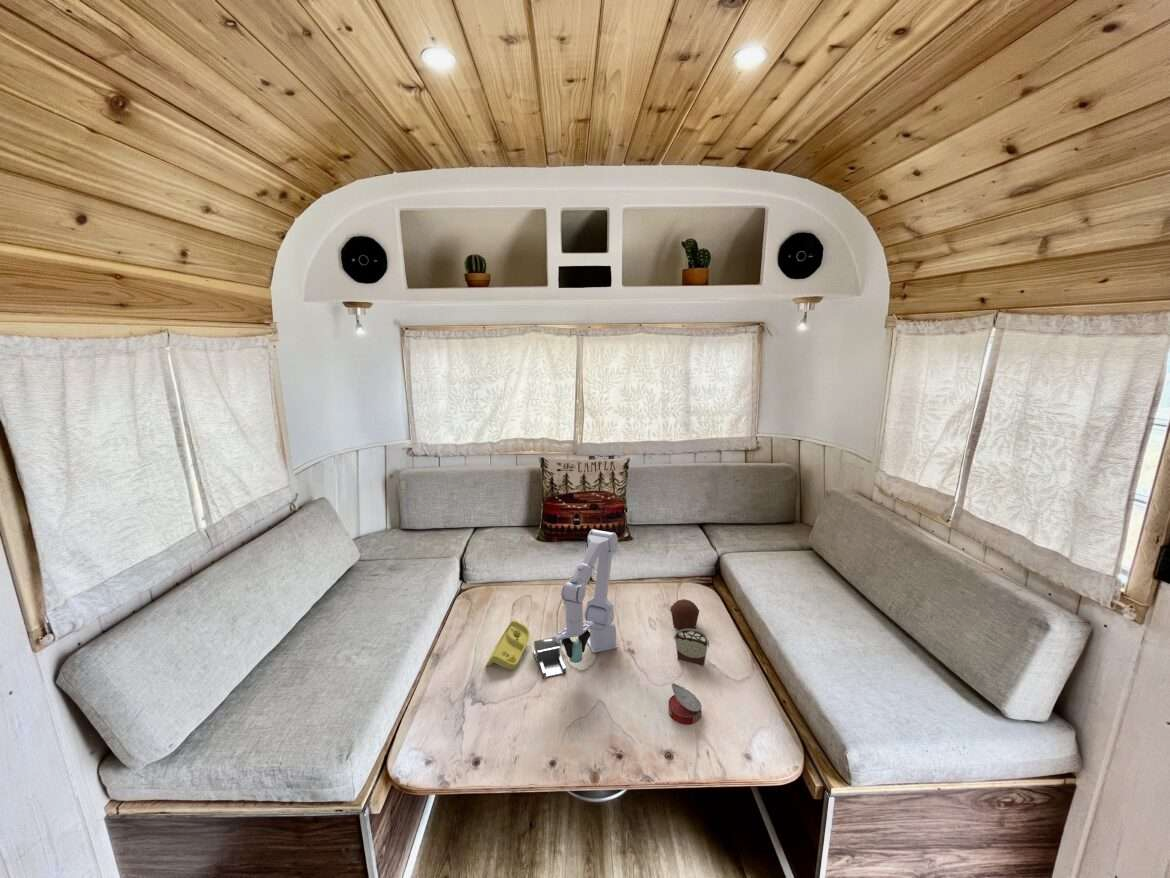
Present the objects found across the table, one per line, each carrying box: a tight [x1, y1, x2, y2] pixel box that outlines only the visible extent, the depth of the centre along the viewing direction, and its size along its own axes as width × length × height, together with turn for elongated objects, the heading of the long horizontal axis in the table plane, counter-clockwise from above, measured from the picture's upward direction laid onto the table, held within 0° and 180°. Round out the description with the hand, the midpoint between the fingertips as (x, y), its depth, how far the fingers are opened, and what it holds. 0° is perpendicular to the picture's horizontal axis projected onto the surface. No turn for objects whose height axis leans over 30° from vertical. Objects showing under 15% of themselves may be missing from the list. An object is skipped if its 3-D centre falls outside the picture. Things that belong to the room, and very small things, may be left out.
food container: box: [673, 628, 710, 667], centre depth 173 cm, size 12×6×10 cm, turn 65°
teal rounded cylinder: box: [568, 638, 583, 664], centre depth 163 cm, size 4×4×7 cm
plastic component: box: [485, 620, 531, 671], centre depth 179 cm, size 20×7×10 cm
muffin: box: [669, 598, 700, 631], centre depth 192 cm, size 12×11×10 cm
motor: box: [533, 636, 567, 679], centre depth 173 cm, size 10×15×6 cm
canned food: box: [668, 682, 702, 726], centre depth 148 cm, size 11×10×10 cm
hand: (575, 653), depth 164 cm, fingers closed on teal rounded cylinder, 4 cm apart
